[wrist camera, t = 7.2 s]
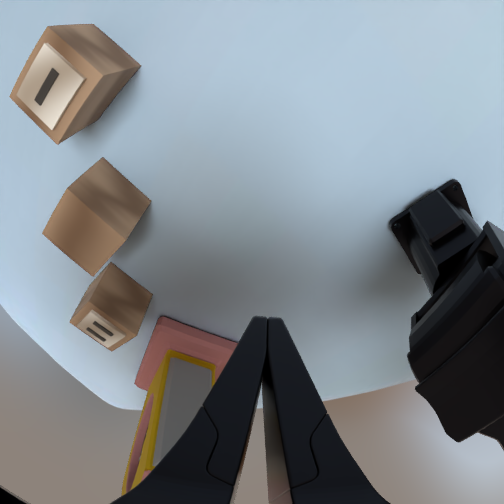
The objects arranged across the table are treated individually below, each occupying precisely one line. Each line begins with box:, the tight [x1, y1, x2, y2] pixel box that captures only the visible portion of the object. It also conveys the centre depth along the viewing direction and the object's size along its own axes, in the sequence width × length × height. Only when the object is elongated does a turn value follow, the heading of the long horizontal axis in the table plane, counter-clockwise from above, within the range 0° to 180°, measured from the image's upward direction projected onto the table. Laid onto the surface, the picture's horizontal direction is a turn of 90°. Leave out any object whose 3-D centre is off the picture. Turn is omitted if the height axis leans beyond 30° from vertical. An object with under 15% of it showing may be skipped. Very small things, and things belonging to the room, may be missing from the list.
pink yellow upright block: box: [122, 316, 238, 495], centre depth 27 cm, size 22×9×22 cm, turn 154°
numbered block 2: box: [70, 262, 153, 351], centre depth 26 cm, size 5×5×5 cm
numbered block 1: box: [10, 24, 141, 145], centre depth 14 cm, size 5×5×5 cm
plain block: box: [42, 157, 151, 276], centre depth 20 cm, size 5×5×5 cm
